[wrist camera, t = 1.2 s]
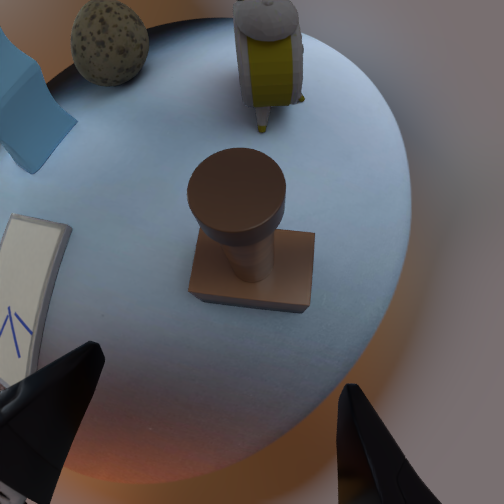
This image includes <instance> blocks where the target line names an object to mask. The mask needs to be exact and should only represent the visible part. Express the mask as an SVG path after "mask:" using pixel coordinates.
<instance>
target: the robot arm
mask: <svg viewBox="0 0 504 504" xmlns="http://www.w3.org/2000/svg"><path fill="white" fill-rule="evenodd" d="M104 363H105V357H104V354H103V352H102V349H101V347H100V345H99V344H98V343H96V342H93V341H88V342H86V343H85V344H83V345H81V346H79V347H78V348H76V349H74V350H72V351H71V352H69V353H67V354H65V355H64V356H62V357H60V358H59V359H57V360H55V361H53V362H52V363H50V364H48V365H46V366H45V367H43V368H41V369H40V370H38V371H36V372H34V373H33V374H31V375H29V376H28V377H26V378H24V379H23V380H21V381H19V382H17V383H15V384H14V385H12V386H10V387H8V388H6V389H4V390H2V391H0V504H27V503H26V502H25V501H26V499H27V498H28V499H31V500H32V501H34V502H36V503H37V504H50V501H51V499H52V496H53V493H54V490H55V487H56V484H57V481H58V479H59V476H60V473H61V470H62V468H63V465H64V462H65V460H66V457H67V455H68V452H69V450H70V447H71V445H72V442H73V440H74V437H75V435H76V433H77V430H78V428H79V426H80V423H81V421H82V419H83V417H84V414H85V412H86V410H87V408H88V405H89V403H90V401H91V399H92V397H93V394H94V392H95V389H96V386H97V383H98V380H99V377H100V374H101V372H102V369H103V366H104ZM336 445H337V464H338V500H339V501H338V504H442V503H441V502H440V501H439V500H438V499H437V498H436V497H435V496H434V494H433V493H432V492H431V491H430V489H428V487H427V486H426V485H425V484H424V482H423V481H422V480H421V479H420V477H419V476H418V475H417V473H416V472H415V470H414V469H413V467H412V466H411V464H410V463H409V461H408V460H407V459H406V458H405V455H404V454H403V452H402V451H401V449H400V448H399V446H398V444H397V443H396V441H395V440H394V438H393V437H392V435H391V434H390V432H389V431H388V429H387V428H386V426H385V425H384V423H383V422H382V420H381V419H380V417H379V416H378V414H377V412H376V411H375V410H374V408H373V406H372V405H371V404H370V402H369V400H368V399H367V398H366V396H365V394H364V393H363V391H362V390H361V388H360V387H359V386H358V385H357V384H346V385H345V386H344V388H343V390H342V393H341V395H340V397H339V401H338V419H337V436H336Z"/></svg>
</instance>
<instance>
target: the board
mask: <svg viewBox="0 0 504 504" xmlns="http://www.w3.org/2000/svg"><path fill="white" fill-rule="evenodd" d="M71 231H72V227H70V226H69V225H67V224H62V223H57V222H53V221H48V220H43V219H38V218H33V217H29V216H24V215H19V214H14V213H11V216H10V218H9V221H8V223H7V226H6V229H5V231H4V234H3V237H2V240H1V243H0V383H1V384H2V385H3V386H4V387H5V388H8V387H10V386H12V385H14V384H15V383H17V382H19V381H21V380H23V379H24V378H26V377H28V376H29V375H31V374H33V373H34V372H36V370H37V363H38V356H39V350H40V344H41V339H42V334H43V329H44V324H45V319H46V315H47V311H48V306H49V302H50V298H51V294H52V291H53V287H54V283H55V280H56V276H57V273H58V270H59V267H60V263H61V260H62V257H63V254H64V251H65V248H66V245H67V242H68V240H69V237H70V234H71Z"/></svg>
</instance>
